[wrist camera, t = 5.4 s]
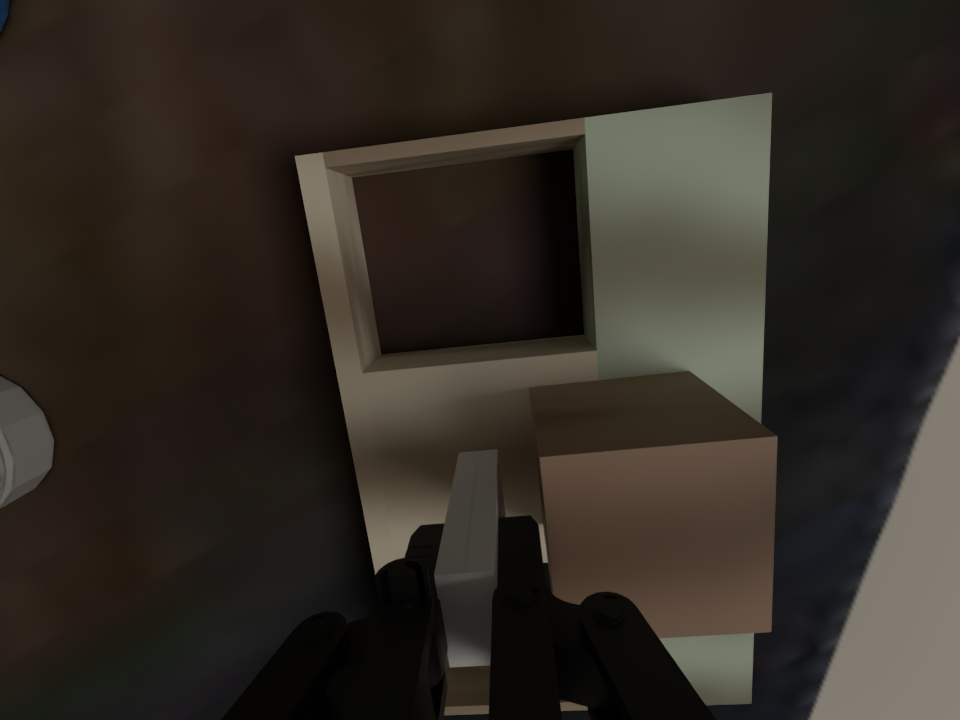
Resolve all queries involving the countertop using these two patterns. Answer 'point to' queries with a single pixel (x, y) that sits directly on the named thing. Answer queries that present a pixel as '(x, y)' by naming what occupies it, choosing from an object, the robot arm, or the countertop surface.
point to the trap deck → (593, 356)
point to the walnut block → (658, 501)
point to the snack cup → (3, 12)
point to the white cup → (22, 443)
